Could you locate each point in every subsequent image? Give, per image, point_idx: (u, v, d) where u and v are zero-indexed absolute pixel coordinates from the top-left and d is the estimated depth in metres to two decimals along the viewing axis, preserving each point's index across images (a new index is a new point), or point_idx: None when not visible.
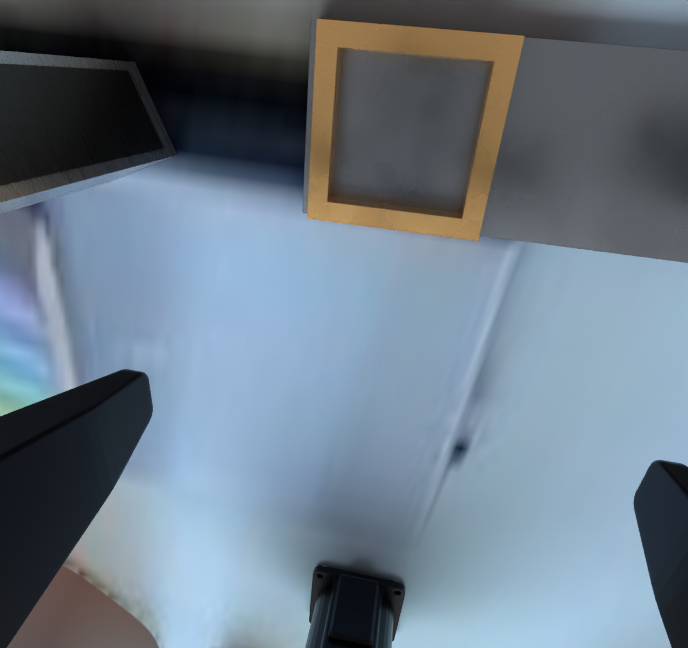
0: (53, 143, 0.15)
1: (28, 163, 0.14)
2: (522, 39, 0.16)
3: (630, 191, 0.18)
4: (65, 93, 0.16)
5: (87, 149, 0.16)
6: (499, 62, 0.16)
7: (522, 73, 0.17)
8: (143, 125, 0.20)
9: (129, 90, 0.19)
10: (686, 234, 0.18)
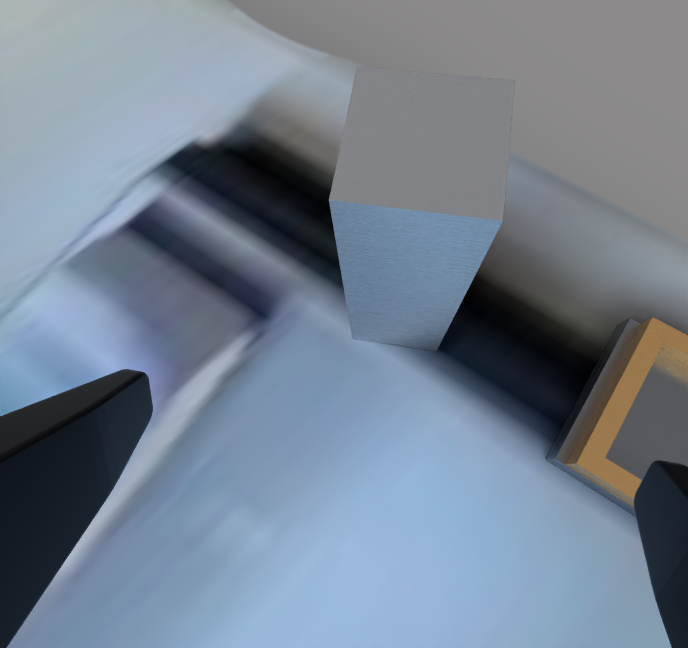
0: None
1: None
2: None
3: None
4: None
5: None
6: None
7: None
8: None
9: None
10: None
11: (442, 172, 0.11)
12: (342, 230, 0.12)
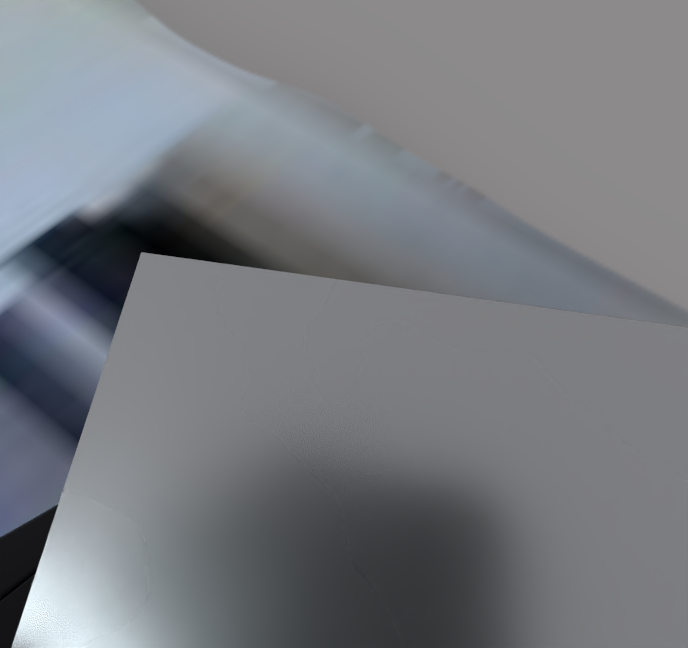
0: None
1: None
2: None
3: None
4: None
5: None
6: None
7: None
8: None
9: None
10: None
11: None
12: None
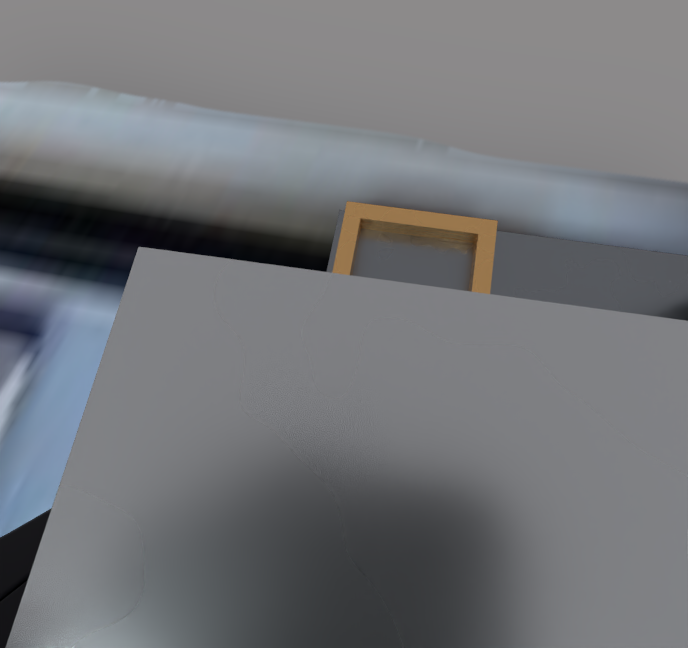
0: None
1: None
2: (496, 222, 0.22)
3: None
4: None
5: None
6: (482, 234, 0.21)
7: (498, 251, 0.22)
8: None
9: None
10: None
11: None
12: None
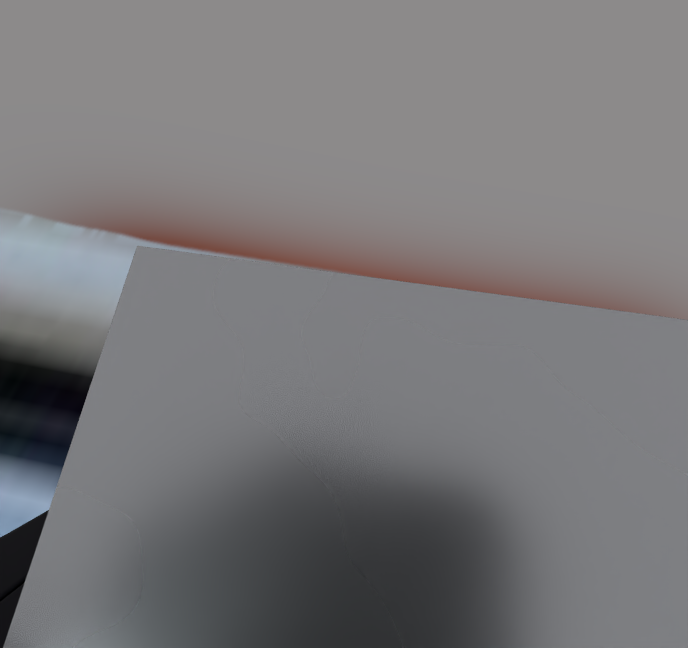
0: None
1: None
2: None
3: None
4: None
5: None
6: None
7: None
8: None
9: None
10: None
11: None
12: None
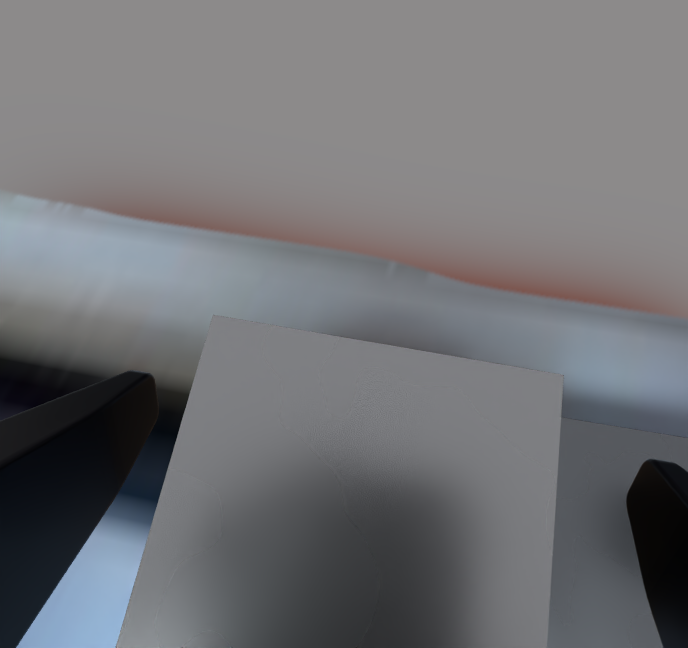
0: None
1: None
2: None
3: None
4: None
5: None
6: None
7: None
8: None
9: None
10: None
11: (383, 645, 0.04)
12: None
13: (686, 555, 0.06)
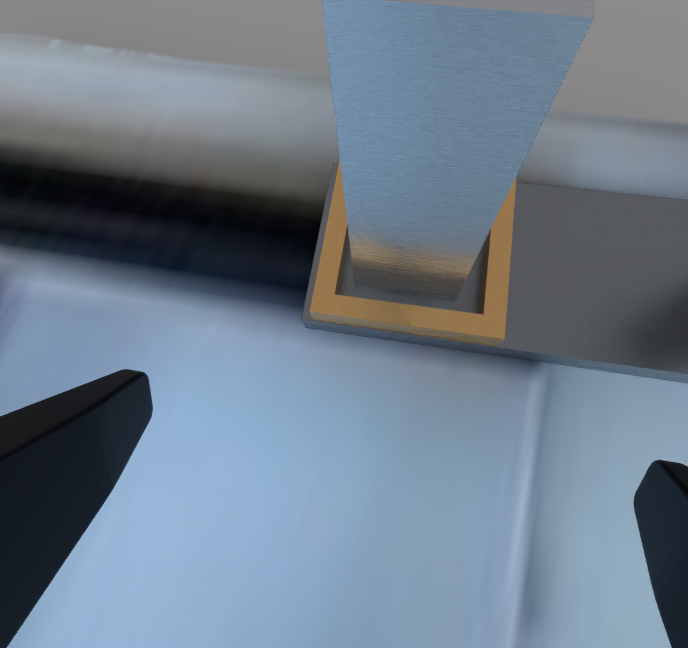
0: None
1: None
2: None
3: (647, 304, 0.18)
4: None
5: None
6: None
7: (517, 206, 0.19)
8: None
9: None
10: None
11: None
12: (341, 70, 0.08)
13: None
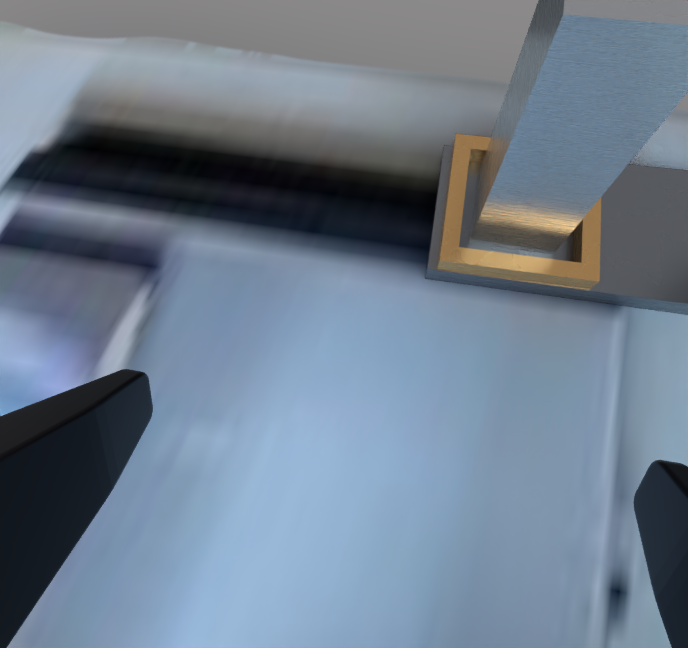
0: None
1: None
2: None
3: None
4: None
5: None
6: None
7: None
8: None
9: None
10: None
11: None
12: (552, 62, 0.13)
13: None
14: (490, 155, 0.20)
